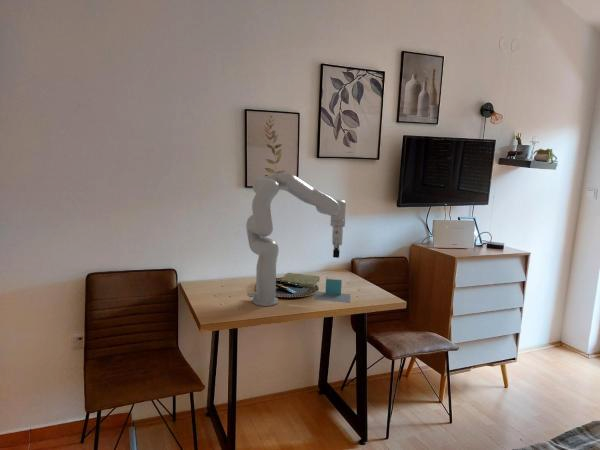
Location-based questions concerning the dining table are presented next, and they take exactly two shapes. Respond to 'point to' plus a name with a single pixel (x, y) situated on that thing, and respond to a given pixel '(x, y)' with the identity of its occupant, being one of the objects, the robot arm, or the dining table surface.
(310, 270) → the dining table surface
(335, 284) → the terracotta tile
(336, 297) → the rubber mat
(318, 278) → the decorative tile
